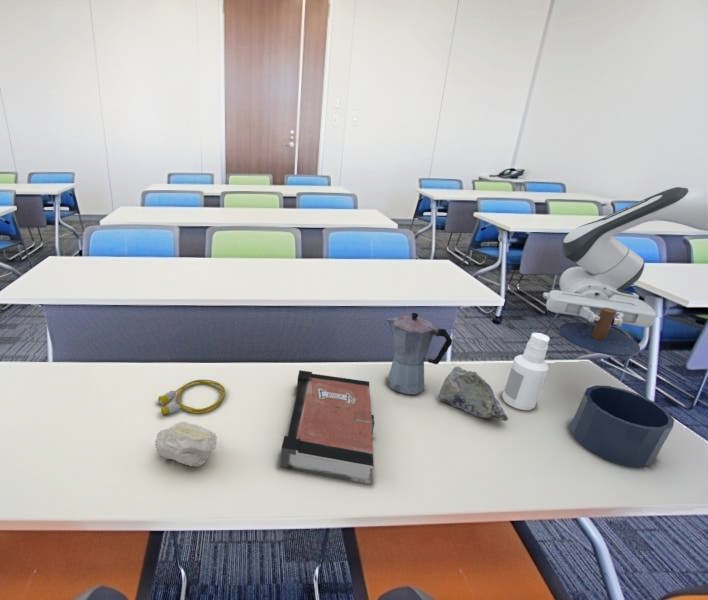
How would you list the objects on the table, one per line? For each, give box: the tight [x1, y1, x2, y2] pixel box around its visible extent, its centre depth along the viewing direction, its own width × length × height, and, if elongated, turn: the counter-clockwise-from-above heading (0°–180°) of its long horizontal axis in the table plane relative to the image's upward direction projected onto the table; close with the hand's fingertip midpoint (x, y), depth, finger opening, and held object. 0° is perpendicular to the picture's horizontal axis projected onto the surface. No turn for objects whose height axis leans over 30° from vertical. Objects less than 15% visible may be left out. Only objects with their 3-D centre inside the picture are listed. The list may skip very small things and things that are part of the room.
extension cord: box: [157, 379, 226, 416], centre depth 95 cm, size 12×16×2 cm
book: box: [280, 369, 375, 485], centre depth 85 cm, size 26×18×5 cm
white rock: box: [154, 421, 217, 467], centre depth 77 cm, size 12×8×10 cm
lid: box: [558, 308, 641, 358], centre depth 90 cm, size 15×15×8 cm
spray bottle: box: [501, 332, 551, 411], centre depth 92 cm, size 7×7×18 cm
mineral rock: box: [438, 365, 509, 422], centre depth 90 cm, size 13×11×10 cm
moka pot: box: [386, 312, 453, 395], centre depth 97 cm, size 10×15×20 cm, turn 55°
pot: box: [569, 384, 675, 468], centre depth 82 cm, size 14×14×10 cm
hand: (606, 321), depth 89 cm, fingers closed on lid, 2 cm apart
